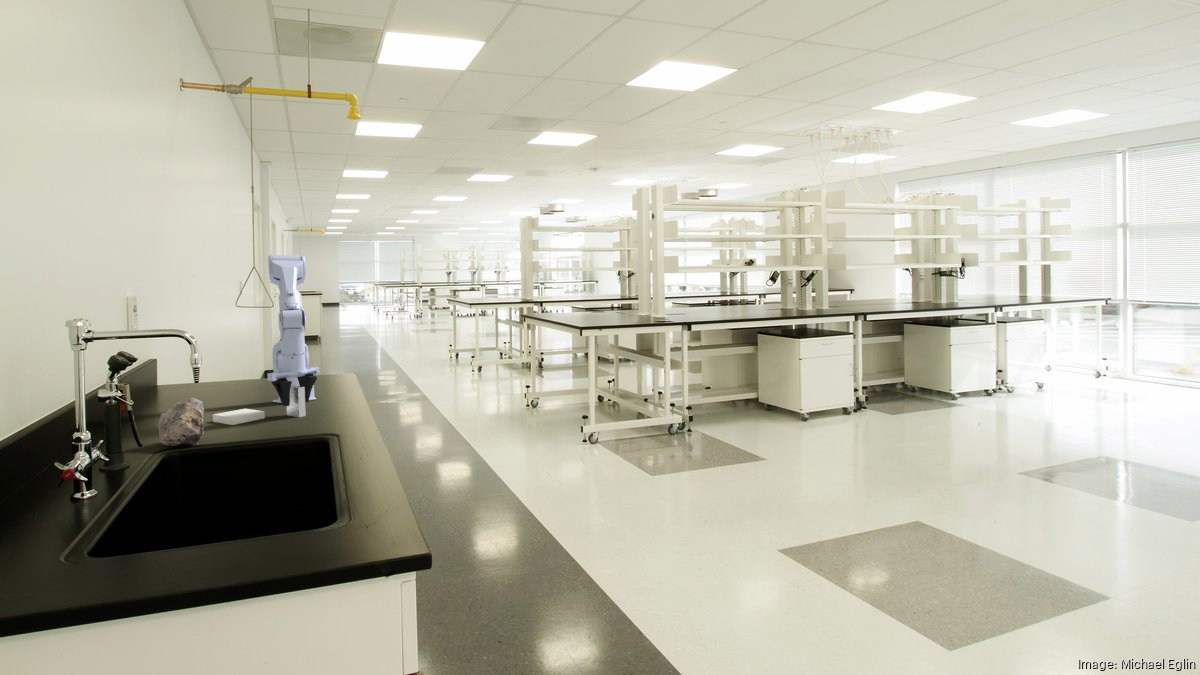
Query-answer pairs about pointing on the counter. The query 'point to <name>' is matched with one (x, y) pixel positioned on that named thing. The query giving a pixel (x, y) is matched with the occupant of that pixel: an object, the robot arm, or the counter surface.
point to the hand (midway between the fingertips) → (295, 403)
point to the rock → (182, 423)
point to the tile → (238, 416)
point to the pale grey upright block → (297, 402)
